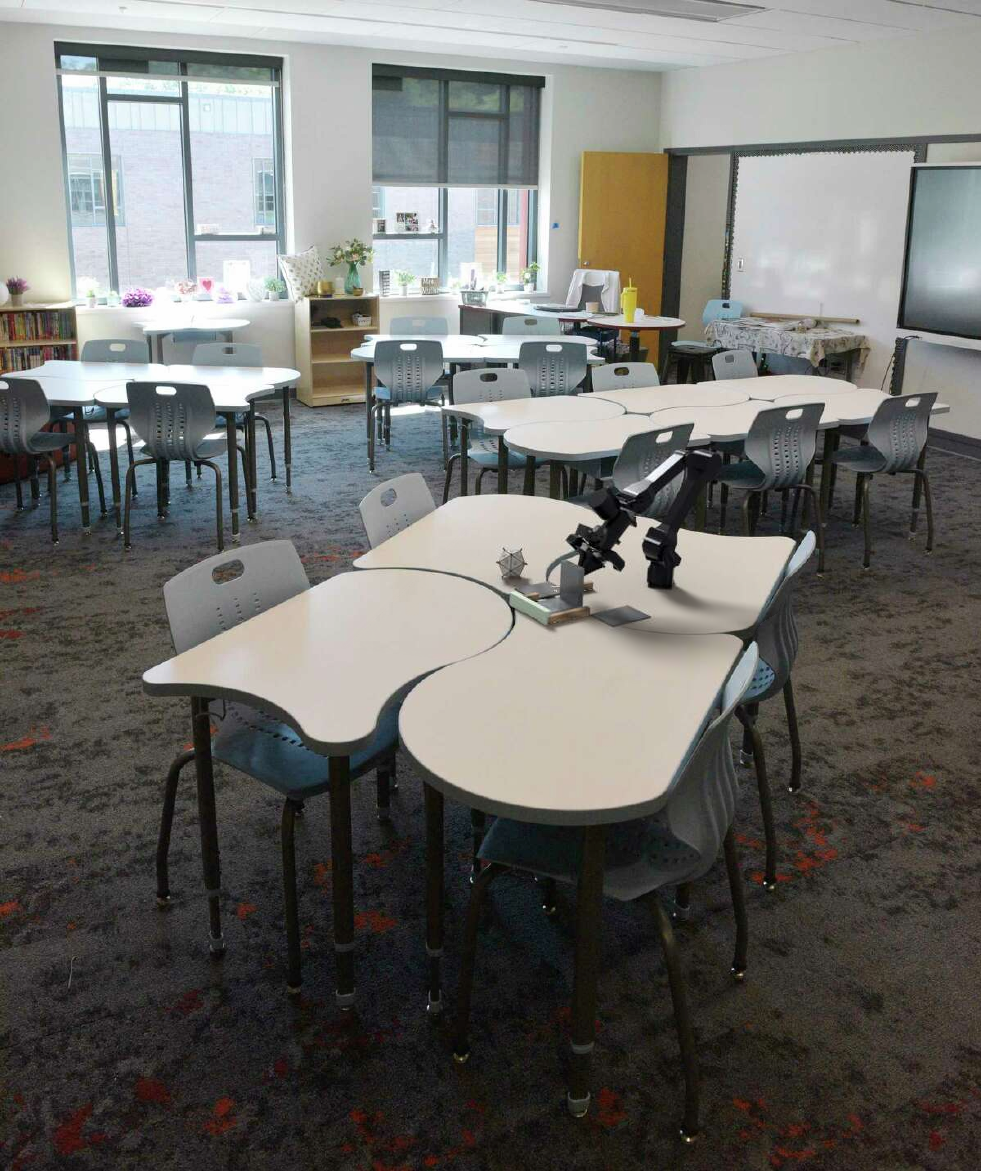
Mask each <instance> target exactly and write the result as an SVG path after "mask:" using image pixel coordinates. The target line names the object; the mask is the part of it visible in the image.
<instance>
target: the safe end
mask: <svg viewBox="0 0 981 1171" xmlns="http://www.w3.org/2000/svg"><path fill="white" fill-rule="evenodd" d="M523 595H524V594H522V593H520V592H518V591H516V590H515V591H510V592H509V606H511V607H512V608H514V609H516V610H518V611H519V612H521V613H523V614H524V613H526V614H528V615H529V616H528V615H527V616H528V617H530V616H531V617H530V618H532V617H534V618H535V619H537V620H538V623H540V622H542V623H543V625H544V624H545V625H544V626H548V625H547V623H548V617H551V611H550V610H549V609H547V608H545V607H543V606H541V605H539V604H537V603H536V602H534V601H532V600H530V599H528V598H526V597H525V596H523ZM526 614H525V615H526ZM535 619H534V620H535ZM537 620H536V621H537ZM542 623H541V624H542Z"/></svg>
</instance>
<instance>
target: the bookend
mask: <svg viewBox="0 0 981 1171" xmlns="http://www.w3.org/2000/svg"><path fill="white" fill-rule="evenodd" d="M559 574H560V575H559V576H560V579H559V587H560V594H559V597H555V598H549V599H545V600H544V599H543V600H539V601H538V602H536V603H537V604H539V605H541V606H543V607H545V608H547V609H549V610H550V611H551V614H553V613H557V612H562V611H566V610H570V609H575V608H579V607H583V605H584V591H583V589H584V582H585V576H584V568H583V567H580V566H578V564H576V563H573V562H572V561H570V560H568V559H562V560H560V573H559Z"/></svg>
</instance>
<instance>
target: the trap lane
mask: <svg viewBox="0 0 981 1171" xmlns="http://www.w3.org/2000/svg"><path fill="white" fill-rule="evenodd" d="M551 586H558V585H557V584H555V583H553V582H551V581H549V580H548V581H543V582H539V583H534V584H530V585H525V586H519V587H516V588H514V590H515V591H516V592H518V593H519V594H521V595H523V596H525V597H526V598H528V599H530V600H532V601H537V600H539V601H540V599H543V598H548V597H552V596H557V594H558V595H560V586H559V587H551ZM589 589H592V590H594V581H592V580H586V581H584V589H583V592H585V591H584V590H588V591H590V590H589ZM554 590H557V592H556V591H554ZM588 616H591V617H593V618H594V619H597V620H599V621H601V622H602V623H605V624H606V625H608V626H610V627H612V628H614V627H618V626H621V625H625V624H630V623H634V622H638V621H642V620H647V619H650V618H651V617H652V616H650V615H649V614H647V613H645V612H643V611H641V610H638V609H636V608H634V607H632V606H630V605H629V604H627V605H623V606H618V607H615V608H614V607H613V608H609V609H606V610H601V611H597V612H594V613H591V606H588V605H584V606H583V607H579V608H575V609H570V610H566V611H562V612H557V613H553V614H551V617H548V623H547V624H550V625H552V624H551V623H554V622H559V623H562V621H563V622H567V621H570V620H569V619H571V620H574V619H573V618H576V619H579V618H578V617H580V618H584V617H588ZM566 620H567V621H566ZM554 624H555V623H554Z"/></svg>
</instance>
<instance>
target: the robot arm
mask: <svg viewBox="0 0 981 1171" xmlns="http://www.w3.org/2000/svg"><path fill="white" fill-rule="evenodd" d="M723 466H724V463H723V457H722V456H721V455H720V454H719V453H717V452H713V451H709V450H707V449H702V448H700V449H699V448H698V449H697V450H694V451H692V450H688V449H687V450H686V449H683V448H678V449H676V450H674V451H673V453H672V455H670V457H669V458H667V459H666V460H665V461H664V462H663V463H661V464H660V465H659V466H658V467H657V468H655V470H653V471H652V472H651V473H650V474H648V475H647V476H646V477H645V478H644V479H642V480H640V481H637V482H633V483H631V484H630V485H628V486H627V487H625V488H623V489H622V490H621V491H620V492H618V493H614V492H613V490H612V489H611V488H610V487H609V486H606V485H604V486H603V487H602V489H598V490H596V491H594V492H593V493H591V494H590V495H589V497H588V499H587V506H588V507H589V508H590V509H591V510H592V511H593V512H594V513H595V515H597V516H598V518H599V519H601V521H603V522H602V524H601V525H600V524H596V525H595V526H594V527H591V526H588V525H585V524H583V523H580V522H579V523H578V525H577V528H576V531H575V532H574V533H569V535H568V536H567V537H566V539H565V542H567V544H568V545H569V546H570V547H571V548H572V549H573V550H574V551H575V552H576V553H577V554H578V556H579V557H578V562H577V565H578V566H580V567H583V568H584V577H586V576H588V575H590V574H591V573H593V572H596V571H599V570H601V569H605V568H607V566H606V565H607V562H609V563H610V564H612V569H613V570H614V571H616V572H620V573H622V571H623V570H624V568H626V561H625V560H624V559H623V558H622V557H621V555H619V553H618V552H617V551H615V550H612V549H613V548H614V547H615V545H617V546H620V544H621V543H622V541H621V540H620V539H621V537H622V536H623V535H624V533H625V532H626V531H627V530H628V528H629V527H633V528H637V527H638V523H637V516H634V515H633V514H630V513H629V512H632V513H634V514H636V515H637V514H638V515H643V514H644V513H645V512H646V511H647V510H648V509H649V508H650V507H651V506H652V505H653V503H654V502H655V499H656V497H657V496H656V495H658V493H659V492H661V491H662V489H664V488H665V487H667V485H668V484H670V483H671V482H672V481H673V480H674V479H675V478H676V477H677V476H679V475H680V474H681V473H682V472H684V470H686V479H685V481H684V482H683V483H682V486H681V488H680V489H679V491H678V493H677V495H676V496H675V498H674V500H673V501H672V503H671V505H670V507H669V509H668V511H667V513H666V514H665V516H664V518H663V520H662V521H661V523H660V524H659V525H658V526H656V527H654V526H650V527H649V528H648V529H647V532H646V534H645V535H644V537H642V544H641V548H642V552H643V554H644V558H645V560H646V561H648V562H650V563H649V565H648V567H647V573H646V583H647V587H648V588H656V589H667V590H672V589H673V587H674V584H675V579H674V578H675V569H676V568H677V567H679V566H680V565H681V562H682V559H683V558H682V557H681V556H680V555H679V554H678V553H677V552H676V549H677V546H678V532H680V529H681V527H682V526H683V524H684V522H685V519H686V518H687V517H688V515H689V514H690V511H691V510H692V509H693V506H694V504H695V502H696V501H697V499H698V497H699V495H700V493H701V492H702V489H703V488H704V487H705V486H706V485H708V484H709V483H711V482H712V481H713V480H715V478H716V477H717V475H718V474H719V473H720V471H722V469H723Z"/></svg>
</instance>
